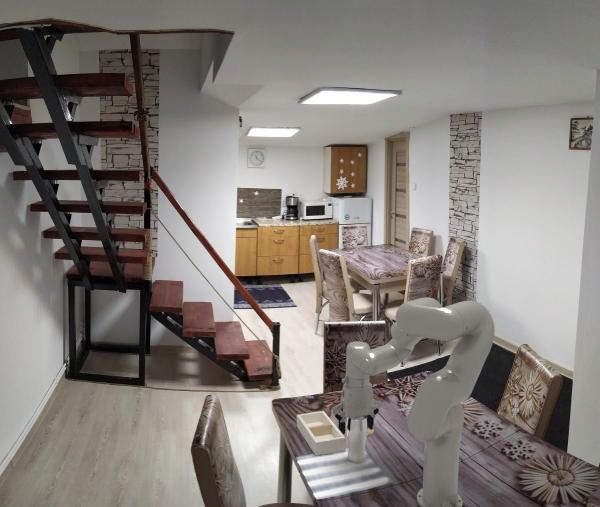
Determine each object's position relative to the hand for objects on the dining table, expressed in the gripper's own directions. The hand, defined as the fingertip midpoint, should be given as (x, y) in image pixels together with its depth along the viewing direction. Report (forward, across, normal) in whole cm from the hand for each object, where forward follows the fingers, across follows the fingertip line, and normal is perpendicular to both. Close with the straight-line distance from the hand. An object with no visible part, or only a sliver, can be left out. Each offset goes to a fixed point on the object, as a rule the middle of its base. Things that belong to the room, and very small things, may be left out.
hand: (356, 429), depth 176 cm
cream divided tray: (+10, -7, +16) cm, 20 cm away
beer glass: (+10, 0, 0) cm, 10 cm away
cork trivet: (+10, +9, +16) cm, 21 cm away
